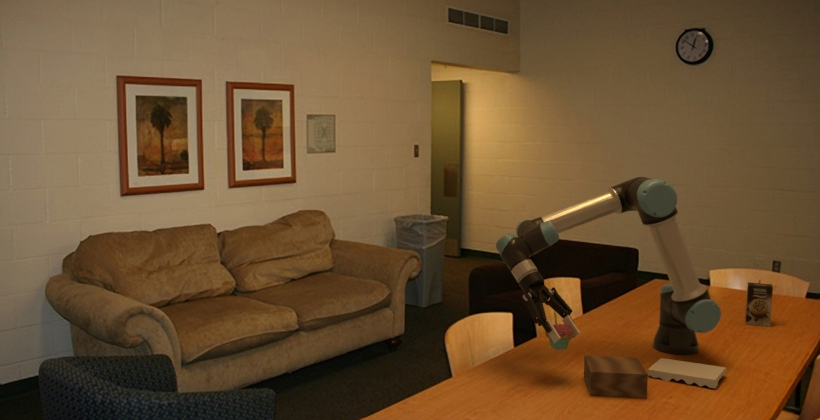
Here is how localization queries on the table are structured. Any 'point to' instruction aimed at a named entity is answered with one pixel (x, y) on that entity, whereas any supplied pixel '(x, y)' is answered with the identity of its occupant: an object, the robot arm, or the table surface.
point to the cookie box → (758, 304)
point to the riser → (615, 376)
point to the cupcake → (561, 335)
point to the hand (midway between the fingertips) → (567, 337)
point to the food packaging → (687, 372)
